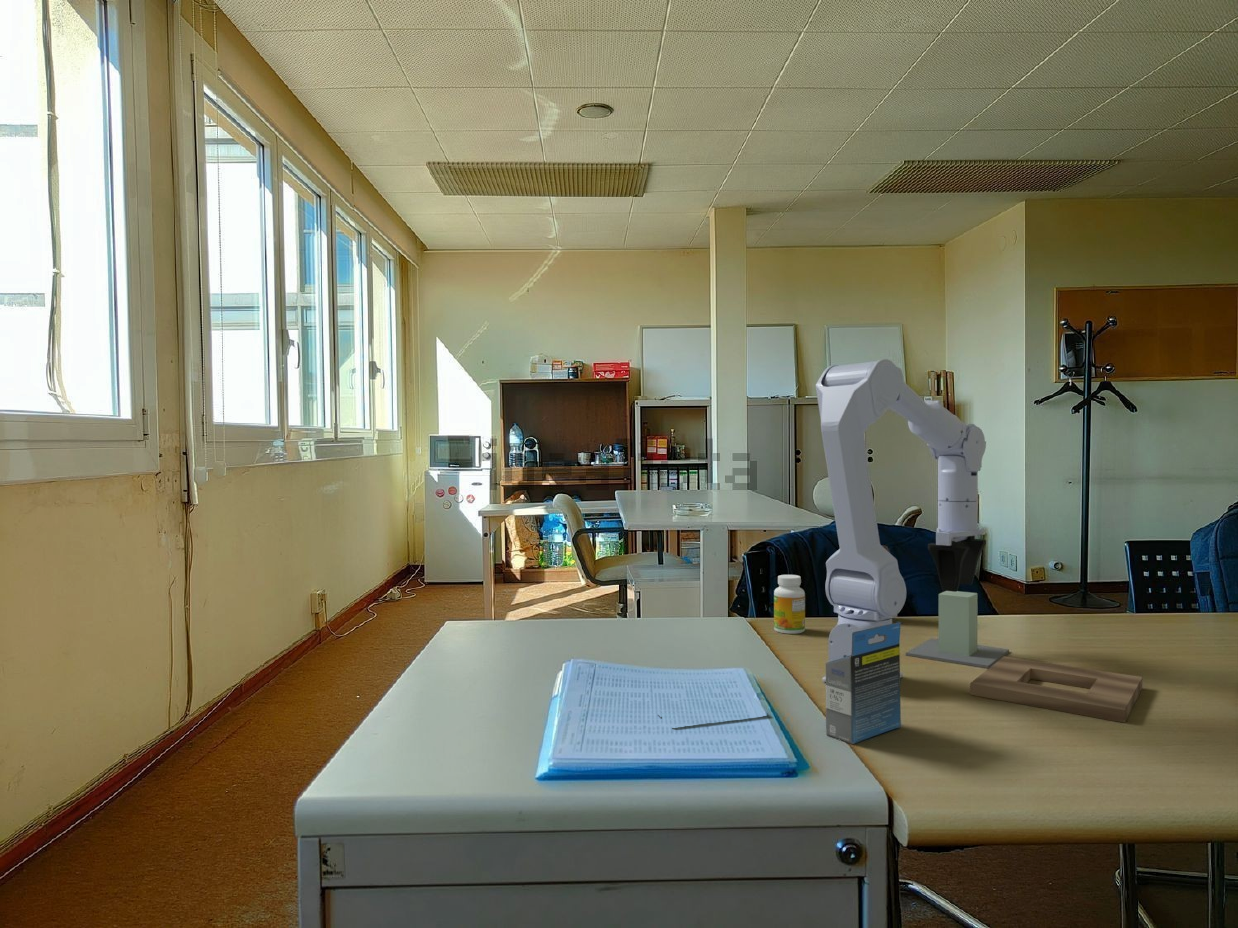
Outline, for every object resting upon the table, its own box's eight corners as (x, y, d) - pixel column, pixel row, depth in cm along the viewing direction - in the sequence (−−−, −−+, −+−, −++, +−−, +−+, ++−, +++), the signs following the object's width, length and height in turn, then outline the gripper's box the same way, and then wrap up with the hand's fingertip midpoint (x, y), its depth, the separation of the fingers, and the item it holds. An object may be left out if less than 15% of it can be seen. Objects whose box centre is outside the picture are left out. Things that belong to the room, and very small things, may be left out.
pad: (988, 668, 114) (988, 665, 114) (905, 655, 121) (905, 652, 121) (1009, 651, 123) (1009, 649, 123) (931, 640, 131) (931, 638, 131)
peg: (968, 656, 119) (968, 597, 119) (938, 651, 122) (938, 594, 122) (977, 650, 122) (977, 593, 122) (947, 645, 125) (947, 590, 125)
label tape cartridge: (873, 718, 93) (873, 615, 93) (902, 728, 90) (902, 621, 89) (824, 735, 88) (823, 625, 87) (853, 745, 84) (852, 632, 84)
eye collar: (1124, 722, 91) (1124, 709, 91) (970, 694, 102) (970, 683, 102) (1142, 688, 104) (1142, 676, 104) (1003, 666, 115) (1003, 656, 115)
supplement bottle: (767, 629, 140) (767, 575, 140) (792, 626, 142) (792, 573, 142) (786, 635, 135) (786, 579, 135) (811, 632, 137) (811, 577, 137)
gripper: (971, 504, 114) (971, 596, 114) (997, 499, 125) (997, 583, 125) (921, 502, 118) (921, 591, 118) (951, 497, 129) (951, 579, 129)
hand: (957, 587), depth 122 cm, fingers open, 7 cm apart
